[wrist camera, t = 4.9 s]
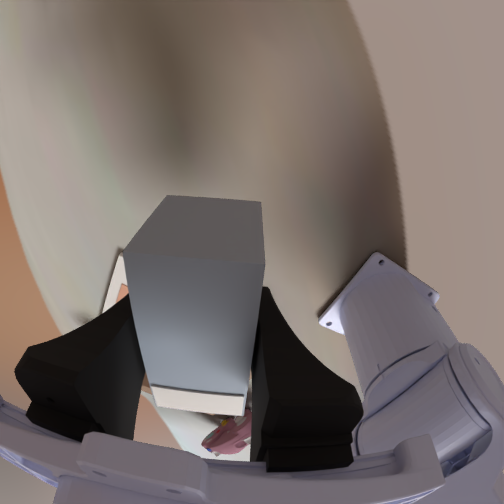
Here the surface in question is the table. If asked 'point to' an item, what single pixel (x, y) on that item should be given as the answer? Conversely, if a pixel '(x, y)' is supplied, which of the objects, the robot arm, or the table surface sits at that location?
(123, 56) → the table surface
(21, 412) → the robot arm
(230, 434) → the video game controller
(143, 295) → the slate block
